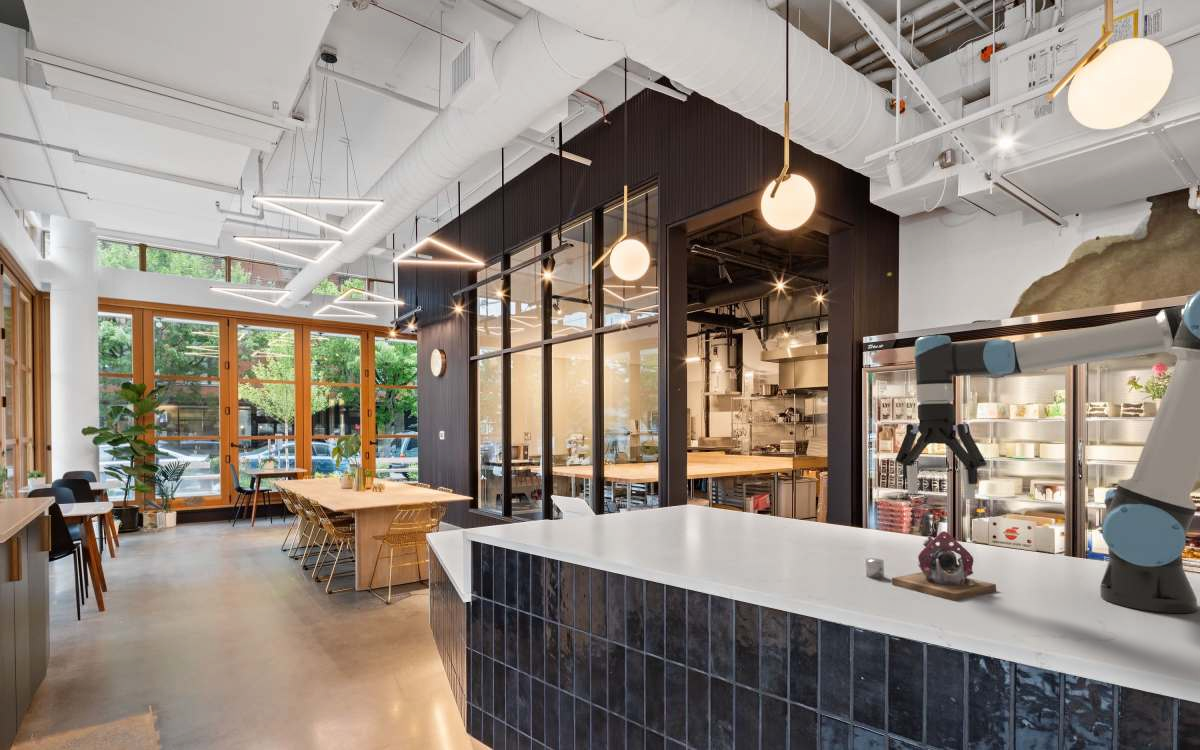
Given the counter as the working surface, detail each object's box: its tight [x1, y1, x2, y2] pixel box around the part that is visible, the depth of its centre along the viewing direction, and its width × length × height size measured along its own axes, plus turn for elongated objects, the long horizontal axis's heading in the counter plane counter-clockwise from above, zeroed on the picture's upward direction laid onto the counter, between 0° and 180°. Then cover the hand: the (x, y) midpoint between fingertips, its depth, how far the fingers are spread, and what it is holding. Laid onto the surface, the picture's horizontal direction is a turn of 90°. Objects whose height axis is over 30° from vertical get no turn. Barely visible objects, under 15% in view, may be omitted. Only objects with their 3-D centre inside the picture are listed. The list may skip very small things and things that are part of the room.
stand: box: [891, 571, 997, 602], centre depth 143 cm, size 15×15×2 cm
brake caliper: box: [917, 530, 974, 586], centre depth 144 cm, size 11×11×12 cm
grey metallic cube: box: [865, 557, 885, 580], centre depth 153 cm, size 4×4×4 cm
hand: (940, 496), depth 144 cm, fingers open, 13 cm apart
